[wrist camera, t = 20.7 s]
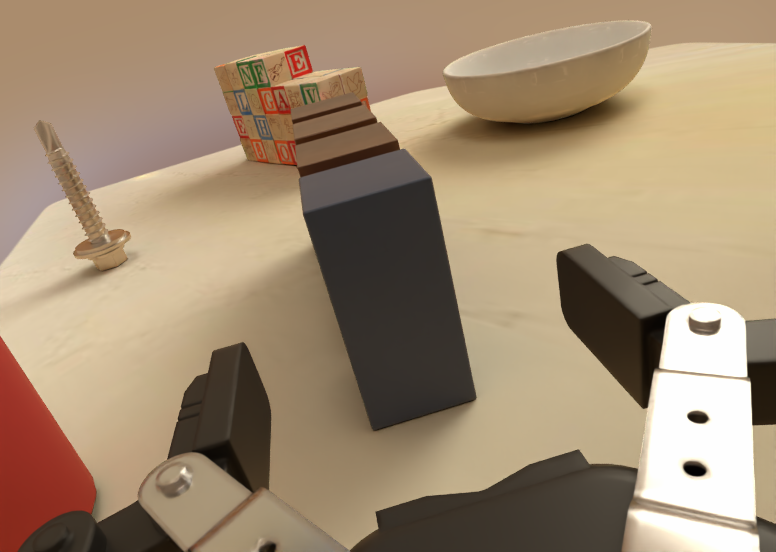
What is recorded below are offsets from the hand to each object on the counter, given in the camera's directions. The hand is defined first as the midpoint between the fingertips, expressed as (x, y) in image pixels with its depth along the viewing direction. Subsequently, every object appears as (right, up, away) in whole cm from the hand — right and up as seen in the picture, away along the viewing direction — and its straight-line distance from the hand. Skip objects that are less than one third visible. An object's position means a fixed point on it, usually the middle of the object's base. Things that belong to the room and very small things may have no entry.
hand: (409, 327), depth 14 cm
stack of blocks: (-10, +16, +55) cm, 58 cm away
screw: (-25, +2, +37) cm, 44 cm away
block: (+1, -4, +12) cm, 12 cm away
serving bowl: (+17, +19, +48) cm, 54 cm away
